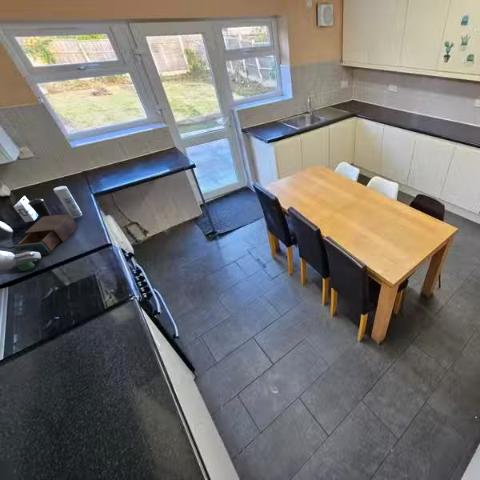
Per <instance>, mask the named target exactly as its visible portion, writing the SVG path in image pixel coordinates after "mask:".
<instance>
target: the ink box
mask: <svg viewBox="0 0 480 480" xmlns="http://www.w3.org/2000/svg"><path fill="white" fill-rule="evenodd" d="M29 202H30V200H29V199H28V198H27V197H26V195H23V196H22V198H20V200H18V201H17V203H15V204H14V205H13V208H14V209H15V211H16V212H17V213H18V214H19V216H20V217H21V218H22V220H23V221H24V223H29V222H35V220H36V219H37V218H38V217H40V216H39V215H38V214H37V213H36V212H35V211H34V209H33V208H32V207H31V206H30V205H29V204H28V203H29Z"/></svg>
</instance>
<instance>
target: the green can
mask: <svg viewBox="0 0 480 480" xmlns="http://www.w3.org/2000/svg"><path fill="white" fill-rule="evenodd" d="M16 267H17V269H18V270H19V271H21V272H22V273H23V274H29V273H32V272H33V270H30V269H32V268H34V267H35V263H34V262H28V263H24V264H21V265H17V266H16Z"/></svg>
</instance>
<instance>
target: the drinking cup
mask: <svg viewBox="0 0 480 480" xmlns="http://www.w3.org/2000/svg"><path fill="white" fill-rule="evenodd" d="M28 193H29V195H30V196H31V198H32V200H29V203H28V204H29V205H30V206H31V207H32V208H33V209H34V211H35V212H36V213H37V214H38V215H39V216H38V217H39V218H40V219H41V218H42V217H43V216H53V215H52V213H51V211H50V209H49V207H48V205H47V204H46V202H45V199H44V198H35V197H34V195H33V194H32V192H31V191H29V192H28Z"/></svg>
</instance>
